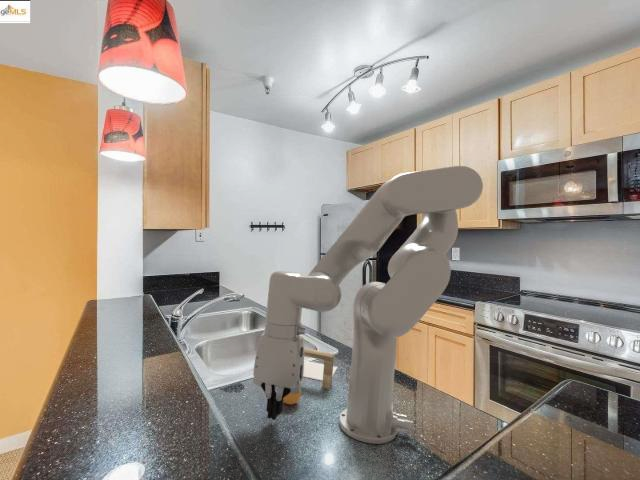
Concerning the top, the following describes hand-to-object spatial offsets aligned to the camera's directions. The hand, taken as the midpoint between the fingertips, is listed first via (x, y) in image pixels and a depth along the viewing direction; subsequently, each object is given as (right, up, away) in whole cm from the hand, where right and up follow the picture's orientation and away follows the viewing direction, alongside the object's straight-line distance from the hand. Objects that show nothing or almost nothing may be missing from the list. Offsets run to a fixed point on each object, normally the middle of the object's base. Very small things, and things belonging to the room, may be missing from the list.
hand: (273, 415), depth 65 cm
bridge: (+6, -3, +22) cm, 23 cm away
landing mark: (+8, -3, +30) cm, 31 cm away
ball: (+3, 0, +9) cm, 10 cm away
